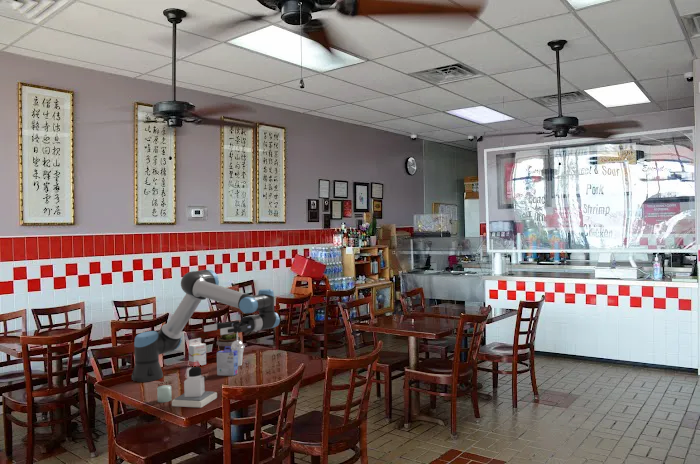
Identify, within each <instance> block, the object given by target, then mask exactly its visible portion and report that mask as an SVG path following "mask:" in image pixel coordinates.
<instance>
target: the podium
mask: <svg viewBox="0 0 700 464" xmlns="http://www.w3.org/2000/svg"><path fill="white" fill-rule="evenodd" d="M217 398H218V393H217V392H216V391H211V390H210V391H207V390H205V392H204V393H203V394H202V396H201V397H185V394H184V393H182V394H181V395H178V396H177V397H175V398H173V399H172V400H171V407H186V408H201V409H202V408H203V407H204V406H206V405H208V404H210V403H211V402H212V401H214V400H216V399H217Z"/></svg>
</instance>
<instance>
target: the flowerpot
mask: <svg viewBox="0 0 700 464" xmlns="http://www.w3.org/2000/svg"><path fill="white" fill-rule="evenodd" d="M236 340H237V333H231V334H224V335H221V337H219V338H218V340H217V341H216V342H215V343H216V345H217V346H218V349H219V351H224V349H225V346H231V345H232V343H233V342H234V341H236ZM238 340H239V341H241V342H242V343H243V340H242V339H241V337H240V336H238ZM226 349H230V348H226Z"/></svg>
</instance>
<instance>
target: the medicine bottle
mask: <svg viewBox="0 0 700 464" xmlns="http://www.w3.org/2000/svg"><path fill="white" fill-rule="evenodd" d="M183 387H184V389H183V390H184V391H183V392H184V393H183V394H185V397H201V396H202V394H203V393H204V392H205V391H206V390H205V376H203V375H202V368H201V367H200V366H196V367H192V366H189V367H188V368H187V369H186V379H185V380H184V381H183Z"/></svg>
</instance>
